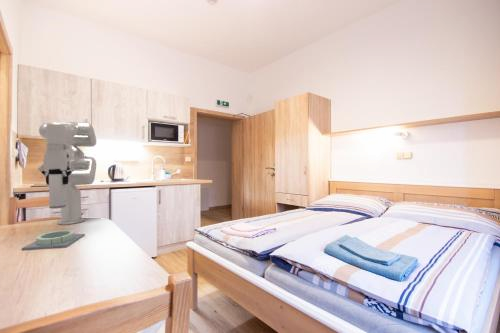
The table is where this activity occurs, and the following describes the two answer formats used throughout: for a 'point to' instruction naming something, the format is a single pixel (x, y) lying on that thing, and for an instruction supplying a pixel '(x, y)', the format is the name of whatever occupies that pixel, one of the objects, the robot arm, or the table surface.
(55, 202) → the travel mug
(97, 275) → the table surface
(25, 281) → the table surface
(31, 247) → the cup dock
